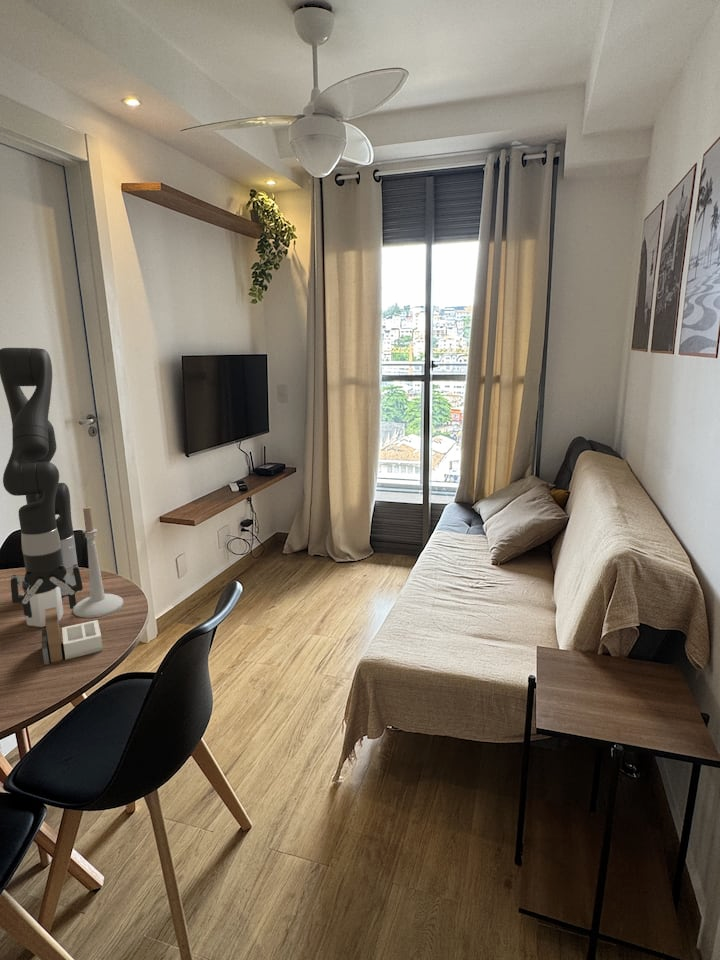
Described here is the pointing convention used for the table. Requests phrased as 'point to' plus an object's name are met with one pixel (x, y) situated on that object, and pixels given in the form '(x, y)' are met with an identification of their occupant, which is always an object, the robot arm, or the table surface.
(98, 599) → the candlestick
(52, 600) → the jar
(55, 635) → the door
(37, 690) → the table surface
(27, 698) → the table surface
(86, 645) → the cabinet
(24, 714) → the table surface
